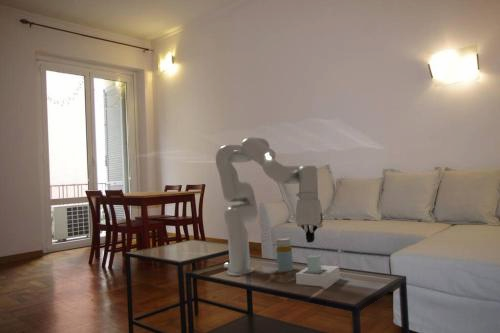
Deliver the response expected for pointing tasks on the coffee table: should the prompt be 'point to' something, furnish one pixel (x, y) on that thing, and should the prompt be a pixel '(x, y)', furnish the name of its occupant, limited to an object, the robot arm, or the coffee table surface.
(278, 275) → the square wooden tray
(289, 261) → the bottle
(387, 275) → the coffee table surface
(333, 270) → the panel
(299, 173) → the robot arm
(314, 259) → the plug
